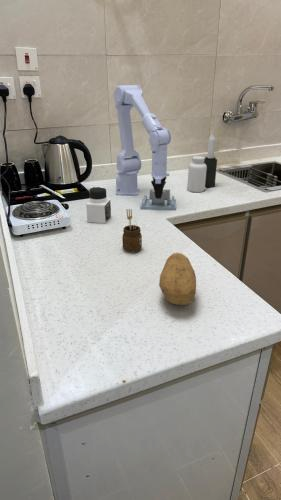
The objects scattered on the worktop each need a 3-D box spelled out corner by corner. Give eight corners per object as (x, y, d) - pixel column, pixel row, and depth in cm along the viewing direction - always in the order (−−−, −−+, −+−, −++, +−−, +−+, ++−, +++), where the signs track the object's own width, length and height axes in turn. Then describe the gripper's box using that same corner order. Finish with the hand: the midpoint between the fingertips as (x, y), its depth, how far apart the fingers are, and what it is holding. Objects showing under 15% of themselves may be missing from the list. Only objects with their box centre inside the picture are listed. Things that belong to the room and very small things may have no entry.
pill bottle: (206, 192, 160) (208, 159, 153) (188, 192, 160) (190, 159, 153) (203, 187, 167) (206, 155, 160) (186, 187, 167) (188, 155, 160)
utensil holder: (125, 254, 107) (124, 217, 101) (120, 245, 112) (119, 209, 107) (144, 252, 108) (144, 215, 103) (138, 243, 114) (138, 207, 108)
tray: (140, 209, 141) (140, 200, 140) (142, 200, 150) (142, 192, 149) (175, 210, 140) (175, 201, 139) (175, 201, 149) (176, 193, 147)
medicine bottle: (106, 223, 128) (104, 191, 123) (87, 222, 130) (84, 190, 124) (111, 216, 134) (110, 185, 129) (93, 215, 136) (91, 184, 130)
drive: (149, 204, 143) (149, 192, 141) (150, 201, 147) (150, 189, 145) (169, 205, 142) (169, 193, 140) (169, 201, 146) (170, 189, 144)
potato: (156, 315, 80) (157, 280, 76) (161, 279, 94) (162, 247, 90) (195, 317, 79) (198, 282, 75) (194, 281, 93) (196, 249, 89)
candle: (200, 185, 170) (204, 130, 159) (209, 184, 172) (214, 130, 161) (206, 188, 166) (211, 132, 155) (215, 186, 168) (220, 131, 156)
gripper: (169, 167, 130) (168, 202, 137) (170, 158, 143) (169, 190, 149) (150, 166, 131) (149, 201, 137) (152, 158, 144) (152, 190, 150)
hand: (158, 196), depth 143 cm, fingers closed on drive, 4 cm apart
